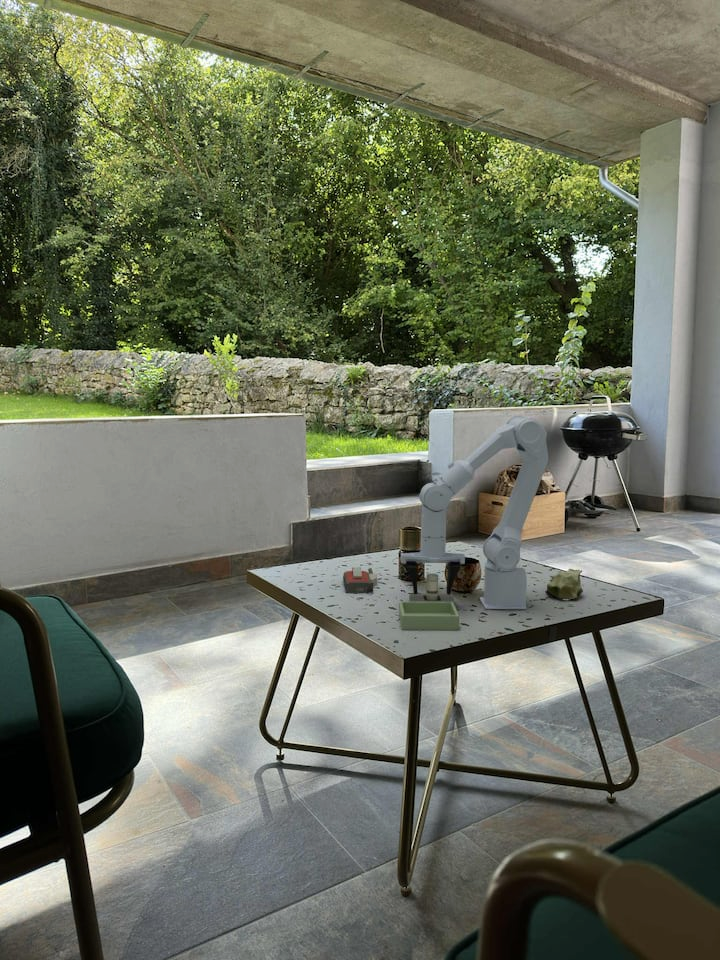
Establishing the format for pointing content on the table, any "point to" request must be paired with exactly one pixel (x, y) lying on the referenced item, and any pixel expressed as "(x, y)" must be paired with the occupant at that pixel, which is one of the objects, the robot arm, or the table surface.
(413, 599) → the fuse block
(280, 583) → the table surface
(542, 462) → the robot arm
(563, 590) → the green rock
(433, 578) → the cylinder
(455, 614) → the parts tray
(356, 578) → the red belt-clip case
